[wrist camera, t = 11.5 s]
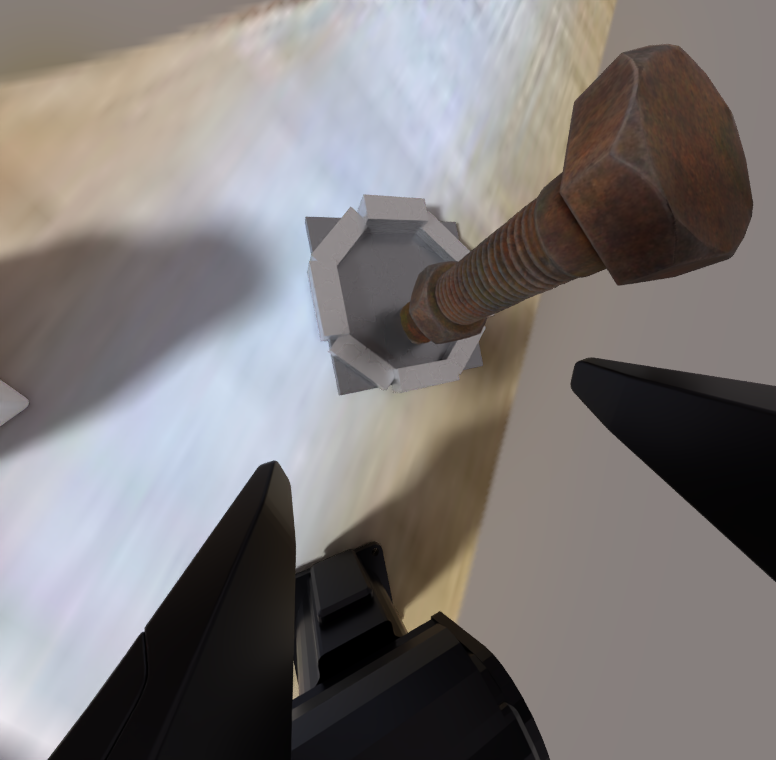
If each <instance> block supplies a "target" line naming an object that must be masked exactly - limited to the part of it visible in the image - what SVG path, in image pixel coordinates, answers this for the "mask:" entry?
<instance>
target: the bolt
mask: <svg viewBox="0 0 776 760" xmlns="http://www.w3.org/2000/svg"><path fill="white" fill-rule="evenodd" d="M752 210H753V200H752V194H751V188H750V181H749V176H748V169H747V163H746V158H745V155H744V151H743V148H742V144H741V141H740V137H739V134H738V130H737V126H736V123H735V121H734V117H733V115H732V112H731V110H730V109H729V107H728V106H727V104H726V103H725V101H724V100H723V98H722V97H721V95H720V94H719V93H718V91H717V89H716V88H715V86H714V85H713V83H712V82H711V80H710V79H709V77H708V76H707V74H706V73H705V72H704V71H703V70H702V69H701V68H700V67H699V66H698V65H697V64H696V62H695V61H694V60H693V59H692V58H691V57H690V56H689V55H688V54H687V53H686V52H685V51H684V50H683V49H682V48H681V47H679V46H676V45H671V44H663V45H650V46H646V47H642V48H638V49H634V50H631V51H627V52H623V53H621V54H620V55H619V56H618V57H617V58H616V59H615V60H614V61H613V62H612V63H611V64H610V65H609V66H608V67H607V68H606V69H605V71H604V72H603V73H602V74H601V75H600V76H599V77H598V78H597V79H596V80H595V81H594V82H593V83H592V84H591V85H590V86H589V87H588V88H587V89H586V90H585V91H584V92H583V93H582V94H581V95H580V96H579V97H578V98H577V99H576V100H575V101H574V106H573V112H572V118H571V124H570V130H569V137H568V143H567V149H566V155H565V161H564V167H563V172H562V173H561V174H559V175H558V176H557V177H556V178H555V179H554V180H552V181H551V182H550V183H549V184H548V185H546V186H545V187H544V188H543V190H542V191H541V192H540V194H539V196H538V197H537V198H536V199H535V200H533V201H532V202H530V203H529V204H528V205H527V206H525V207H524V208H523V209H521V210H520V212H518V213H516V214H515V215H514V216H513V217H512V218H510V219H509V220H508V221H507V222H506V223H505V224H504V225H502V226H501V227H500V228H499V229H497V230H496V231H495V232H494V233H492V234H491V235H490V236H489V237H488V238H486V239H485V240H484V241H483V242H481V243H480V244H479V245H478V246H477V247H476V248H474V249H473V250H471V251H470V252H469V253H468V254H466V255H465V256H464V257H463V258H462V259H461V260H460V261H459V262H458V261H447V262H440V263H436V264H432V265H428V266H427V267H426V268H425V269H424V270H423V271H422V272H421V273H419V275H418V277H417V280H416V283H415V285H414V288H413V292H412V295H411V300H410V302H408V303H407V304H406V305H404V306H403V308H402V309H401V311H400V317H401V325H402V328H403V330H404V332H405V333H406V335H407V337H408V339H409V340H410V341H411V343H414V344H419V345H420V344H422V343H423V344H425V343H428V342H430V341H432V342H433V343H435V344H443V343H448V342H453V341H458V340H462V339H466V338H470V337H472V336H475V335H478V334H480V333H481V332H482V329H483V327H484V325H485V322H486V319H487V317H488V316H491V315H493V314H495V313H498V312H499V311H502V310H504V309H507V308H509V307H511V306H513V305H515V304H518V303H519V302H521V301H524V300H525V299H527V298H530V297H532V296H535V295H537V294H540V293H543V292H545V291H548V290H551V289H553V288H556V287H557V286H559V285H561V284H565V283H567V282H569V281H571V280H574V279H576V278H580V277H586V276H590V275H592V274H595V273H597V272H599V271H602V270H604V269H607V270H608V271H609V273H610V274H611V276H612V278H613V279H614V281H615V282H616V284H617V285H625V284H633V283H639V282H646V281H652V280H658V279H664V278H670V277H676V276H679V275H682V274H685V273H688V272H691V271H694V270H697V269H700V268H703V267H706V266H709V265H712V264H715V263H718V262H721V261H724V260H727V259H729V258H731V257H732V256H733V255H734V253H735V252H736V250H737V248H738V247H739V245H740V243H741V241H742V240H743V238H744V236H745V234H746V231H747V228H748V225H749V223H750V220H751V217H752Z"/></svg>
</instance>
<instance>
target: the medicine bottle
mask: <svg viewBox="0 0 776 760" xmlns="http://www.w3.org/2000/svg"><path fill="white" fill-rule="evenodd" d="M28 405H29V401H28V400H27V398H25V397H24V396H23V395H21V394H20V393H18V392H17V391H16V390H14V389H13V388H11V387H10V386H9V385H7V384H6V383H5V382H3V381H2V380H0V426H1V425H3V424H4V423H6V422H7V421H8V420H10V419H11V418H13V417H14V416H15V415H17V414H18V413H20V412H21V411H22V410H24V409H25V408H26V407H27V406H28Z"/></svg>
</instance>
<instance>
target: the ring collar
mask: <svg viewBox="0 0 776 760" xmlns="http://www.w3.org/2000/svg"><path fill="white" fill-rule="evenodd" d="M357 211H358V213H357V212H356V211H355V210H354V209H353V208H352V207H350V208H349V209H348V211H347V212H346V213H345V214H344V215H343V217H342V218H327V217H305V225H306V230H307V235H308V240H309V246H310V251H311V257H310V261H309V265H308V270H307V274H308V279H309V284H310V289H311V294H312V300H313V305H314V310H315V315H316V320H317V325H318V330H319V335H320V340H321V341H328V342H329V347H330V349H329V351H328V353H330V354H331V357H332V363H333V368H334V373H335V378H336V383H337V388H338V393H339V395H344V394H349V393H354V392H358V391H363V390H368V389H373V388H379V389H381V390H382V391H386V390H387V389H388V387H389V386H390V385H392V390H393V393H402V392H407V391H411V390H416V389H420V388H425V387H429V386H434V385H438V384H443V383H447V382H452V381H457V380H459V375H461V373H462V371H463V370H465V369H470V368H475V367H480V366H483V362H482V357H481V351H480V346H479V340H480V338H481V336H482V334H483V332H484V330H485V329H486V327H485V326H484V327H483V329H482V332H481V333H480V334H478V335H475V336H472V337H470V338H466V339H462V340H458V341H453V342H448V343H443V344H435V343H433V342H432V341H430V342H428V343H425V344H423V343H422V344H420V345H419V344H414V343H411V341H410V340H409V339H408V337H407V335H406V333H405V332H404V330H403V328H402V325H401V317H400V311H401V309H402V308H403V306H404V305H406V304H407V303H408V302H410V300H411V295H412V292H413V288H414V285H415V283H416V280H417V277H418V275H419V273H421V272H422V271H423V270H424V269H425V268H426V267H427V266H428V265H432V264H436V263H440V262H447V261H458V262H459V261H460V260H461V259H462V258H463V257H464V256H465V255H466V254H468V253H469V252H470V251H469V250H468V249H467V248H466V247H465V246H464V245H463V244H462V243H461V242H460V241H459V237H458V232H457V227H456V222H440V221H439V220H438V219H437V218H436V217H435V216H434V215H433V214H432V213H430V212H429V211H428V212H427V209H426V204H425V199H421V198H406V197H392V196H378V195H363V197H362V200H361V202H360V205H359V207H358V210H357ZM491 316H494V314H493V315H491ZM491 316H488V317H487V318H489V317H491Z"/></svg>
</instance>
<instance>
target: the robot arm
mask: <svg viewBox="0 0 776 760" xmlns="http://www.w3.org/2000/svg"><path fill="white" fill-rule="evenodd" d="M571 389H572V391H573V392H574V393H575V394H576V395H577V396H578V397H579V399H580V400H581V401H582V402H583V403H584V404H585V405H586V406H587V407H588V408H589V409H590V410H591V412H592V413H593V414H594V415H595V416H596V417H597V418H598V419H599V420H600V421H601V422H602V424H603V425H604V426H605V427H606V428H607V429H608V430H609V431H610V432H611V433H612V434H613V435H615V436H616V437H617V438H618V439H619V440H620V441H621V442H622V443H623V444H625V446H627V447H628V448H629V449H630V450H631V451H632V452H633V453H634V454H636V456H638V457H639V458H640V459H641V460H642V461H643V462H644V463H645V464H646V465H648V466H649V467H650V468H651V469H652V470H653V471H654V472H655V473H656V474H657V475H659V476H660V477H661V478H662V479H663V480H664V481H665V482H666V483H667V484H668V485H669V486H671V487H672V488H673V489H674V490H675V491H676V492H677V493H678V494H679V495H680V496H682V497H683V498H684V499H685V500H686V501H687V502H688V503H689V504H690V505H691V506H693V507H694V508H695V509H696V510H697V511H698V512H699V513H700V514H701V515H702V516H704V517H705V518H706V519H707V520H708V521H709V522H710V523H711V524H712V525H713V526H715V527H716V528H717V529H718V530H719V531H720V532H721V533H722V534H723V535H724V536H726V537H727V538H728V539H729V540H730V541H731V542H732V543H733V544H734V545H736V546H737V547H738V548H739V549H740V550H741V551H742V552H743V553H744V554H745V555H746V556H748V557H749V558H750V559H751V560H752V561H753V562H754V563H755V564H756V565H757V566H759V567H760V568H761V569H762V570H763V571H764V572H765V573H766V574H767V575H768V576H769V577H771V578H772V579H773V580H774V581H775V582H776V386H772V385H765V384H759V383H753V382H747V381H740V380H733V379H727V378H720V377H714V376H708V375H702V374H695V373H688V372H682V371H676V370H669V369H662V368H656V367H650V366H644V365H637V364H631V363H624V362H618V361H612V360H605V359H599V358H586V359H583V360H581V361H578V362H577V363H576V364H575V366H574V370H573V374H572V379H571ZM374 548H377V550H376V552H375V553H372V550H373V549H374ZM295 568H296V540H295V527H294V516H293V505H292V494H291V485H290V482H289V479H288V477H287V476H286V474H285V473H284V471H283V469H282V468H281V466H280V464H279V463H278V462H277V461H270V462H267V463H264V464H262V465H260V466H259V467H258V468H257V469H256V471H255V472H254V474H253V475H252V476H251V478H250V479H249V481H248V482H247V483H246V485H245V486H244V488H243V489H242V491H241V492H240V493H239V495H238V496H237V498H236V499H235V500H234V502H233V503H232V505H231V506H230V508H229V509H228V510H227V512H226V513H225V515H224V516H223V517H222V519H221V520H220V522H219V523H218V525H217V526H216V527H215V529H214V530H213V532H212V533H211V534H210V536H209V537H208V539H207V540H206V541H205V543H204V544H203V546H202V547H201V549H200V550H199V551H198V553H197V554H196V556H195V557H194V558H193V560H192V561H191V563H190V564H189V566H188V567H187V568H186V570H185V571H184V573H183V574H182V575H181V577H180V578H179V580H178V581H177V583H176V584H175V585H174V587H173V588H172V590H171V591H170V592H169V594H168V595H167V597H166V598H165V600H164V601H163V602H162V604H161V605H160V607H159V608H158V609H157V611H156V612H155V614H154V615H153V617H152V618H151V619H150V621H149V622H148V624H147V625H146V627H145V632H142V633H141V634H140V635H139V636H138V638H137V639H136V640H135V642H134V643H133V645H132V646H131V647H130V649H129V650H128V652H127V653H126V655H125V656H124V657H123V659H122V660H121V662H120V663H119V664H118V666H117V667H116V668H115V670H114V671H113V673H112V674H111V675H110V677H109V678H108V679H107V681H106V682H105V684H104V685H103V686H102V688H101V689H100V690H99V692H98V693H97V695H96V696H95V697H94V699H93V700H92V702H91V703H90V704H89V706H88V707H87V708H86V710H85V711H84V712H83V714H82V715H81V716H80V718H79V719H78V720H77V722H76V723H75V724H74V725H73V727H72V728H71V729H70V731H69V732H68V733H67V735H66V736H65V737H64V739H63V740H62V741H61V743H60V744H59V745H58V746H57V748H56V749H55V750H54V752H53V753H52V754H51V756H50V757H49V758H48V760H550V758H549V755H548V752H547V750H546V747H545V744H544V741H543V739H542V736H541V734H540V732H539V730H538V727H537V725H536V723H535V721H534V718H533V716H532V714H531V712H530V711H529V709H528V707H527V705H526V703H525V701H524V699H523V697H522V695H521V694H520V692H519V690H518V689H517V687H516V686H515V684H514V682H513V680H512V679H511V677H510V676H509V674H508V673H507V671H506V670H505V669H504V667H503V666H502V664H501V663H500V662H499V661H498V659H497V658H496V657H495V656H494V655H493V653H491V652H490V651H489V650H488V649H487V648H486V647H485V646H484V645H483V644H481V643H480V642H479V641H477V640H476V639H475V638H473V637H472V636H471V635H470V634H469V633H467V632H466V631H465V630H463V629H462V628H461V627H460V626H458V625H457V624H456V623H455V622H453V621H452V620H451V619H449V618H448V617H447V616H446V615H444V614H443V613H442V612H438V613H436V614H434V615H433V616H431V620H429V621H428V622H426V623H424V624H422V625H421V626H419V627H417V628H415V629H414V630H412V631H410V632H409V633H408V632H407V630H406V628H405V626H404V624H403V622H402V620H401V618H400V617H399V615H398V613H397V611H396V609H395V607H394V605H393V602H392V596H391V591H390V586H389V581H388V576H387V571H386V566H385V561H384V556H383V551H382V547H381V546H380V544H379V543H378V542H375V541H374V542H371V543H368V544H366V545H364V546H361V547H359V548H357V549H354V550H351V549H350V550H347V551H345V552H342V553H340V554H338V555H335V556H333V557H331V558H328V559H326V560H323V561H321V562H319V563H316V564H314V565H313V566H312V568H309V569H307V570H305V571H302V572H300V573H298V574H295ZM293 660H294V665H295V670H296V675H297V680H298V685H299V696H298V697H297V698H295V699H293ZM292 699H293V700H292Z"/></svg>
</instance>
